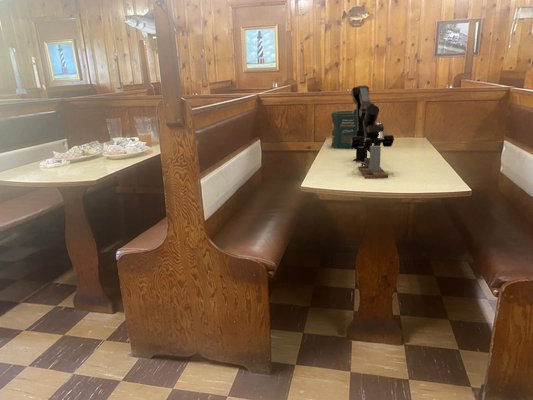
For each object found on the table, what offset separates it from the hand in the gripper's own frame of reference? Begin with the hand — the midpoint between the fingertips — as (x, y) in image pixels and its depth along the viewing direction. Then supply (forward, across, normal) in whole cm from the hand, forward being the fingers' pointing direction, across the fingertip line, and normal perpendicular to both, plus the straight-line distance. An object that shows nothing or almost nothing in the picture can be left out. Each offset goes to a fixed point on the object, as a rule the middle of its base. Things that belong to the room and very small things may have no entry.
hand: (374, 156), depth 194 cm
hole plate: (+4, 0, +8) cm, 9 cm away
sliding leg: (+6, -1, +3) cm, 7 cm away
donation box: (-47, -2, +58) cm, 75 cm away
